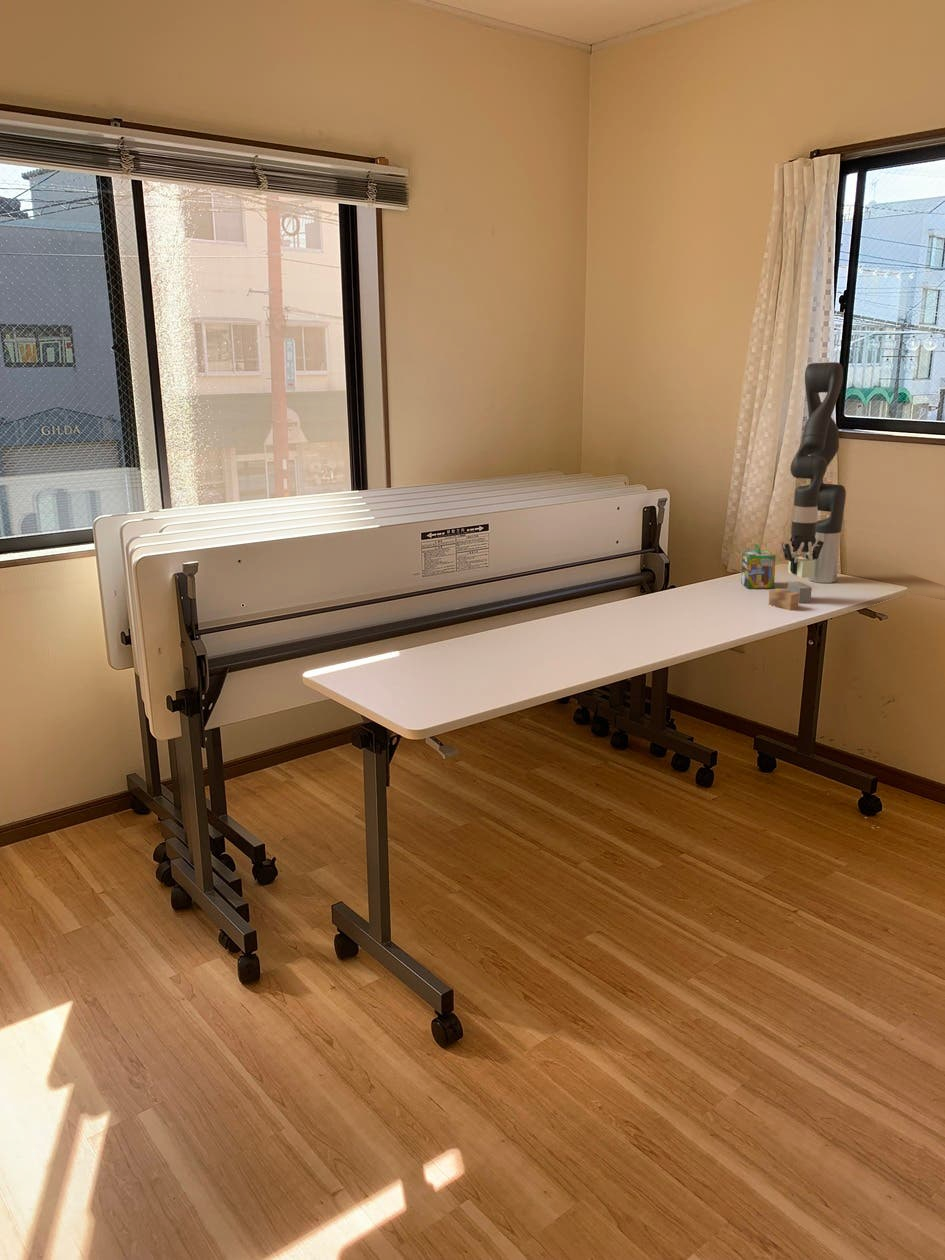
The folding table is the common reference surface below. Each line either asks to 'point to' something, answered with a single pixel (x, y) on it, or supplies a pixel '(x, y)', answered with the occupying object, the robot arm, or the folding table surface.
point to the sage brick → (803, 567)
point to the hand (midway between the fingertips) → (800, 572)
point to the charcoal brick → (801, 591)
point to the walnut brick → (783, 599)
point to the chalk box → (758, 569)
